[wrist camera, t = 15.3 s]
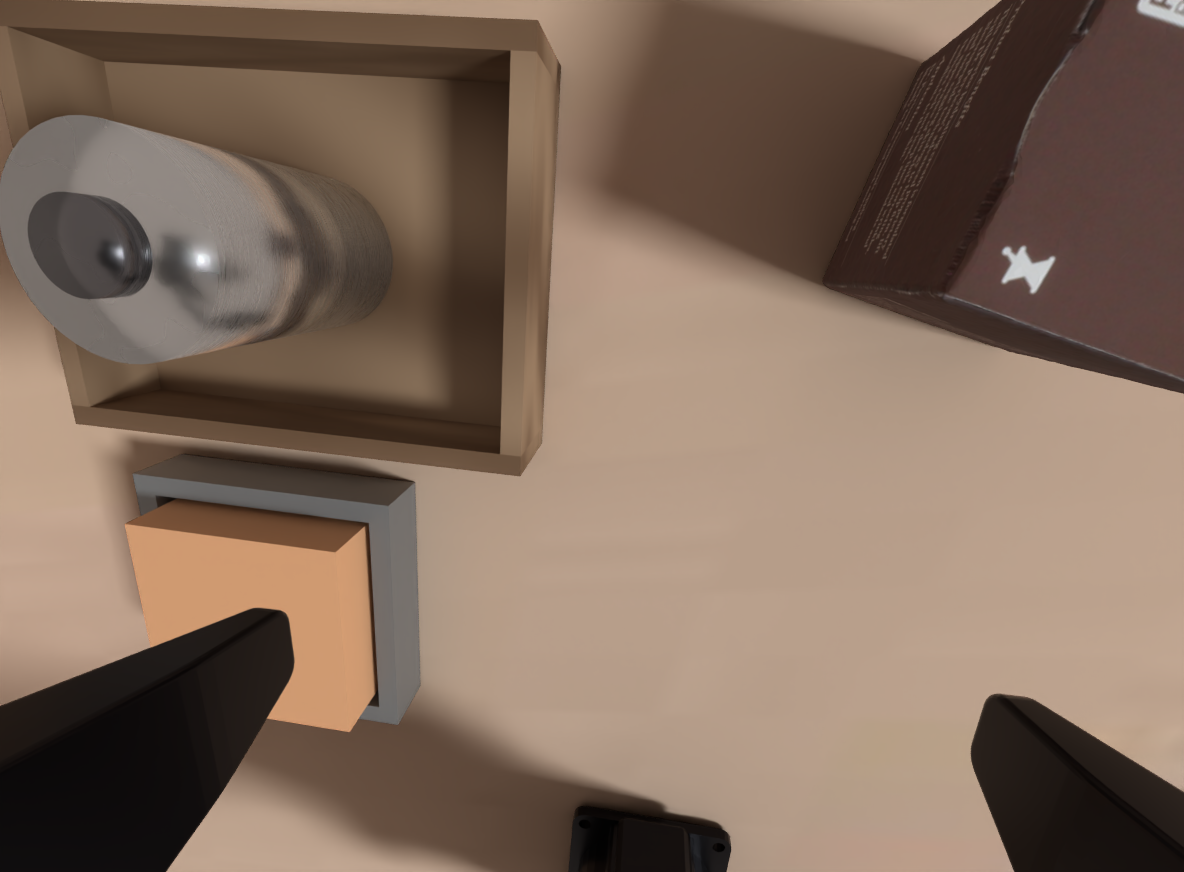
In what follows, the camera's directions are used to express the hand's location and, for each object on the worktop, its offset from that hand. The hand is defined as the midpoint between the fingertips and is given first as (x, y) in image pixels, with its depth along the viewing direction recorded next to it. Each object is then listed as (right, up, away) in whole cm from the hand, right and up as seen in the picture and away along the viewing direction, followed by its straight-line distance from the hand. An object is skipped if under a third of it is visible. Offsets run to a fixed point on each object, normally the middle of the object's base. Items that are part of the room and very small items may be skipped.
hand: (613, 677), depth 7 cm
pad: (-12, -3, +13) cm, 17 cm away
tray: (-8, +9, +10) cm, 16 cm away
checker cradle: (-11, -2, +14) cm, 18 cm away
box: (+10, +9, +8) cm, 16 cm away
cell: (-9, +9, +10) cm, 16 cm away
